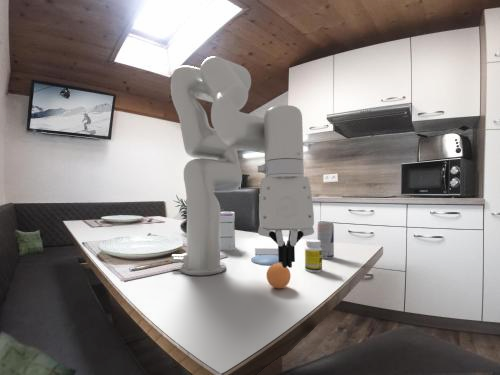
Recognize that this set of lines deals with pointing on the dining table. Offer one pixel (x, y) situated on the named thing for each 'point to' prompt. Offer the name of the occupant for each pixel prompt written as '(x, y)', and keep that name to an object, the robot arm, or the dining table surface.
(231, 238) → the syrup box
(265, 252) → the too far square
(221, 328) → the dining table surface
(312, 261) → the supplement bottle
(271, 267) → the ball
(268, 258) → the disc
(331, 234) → the energy drink
